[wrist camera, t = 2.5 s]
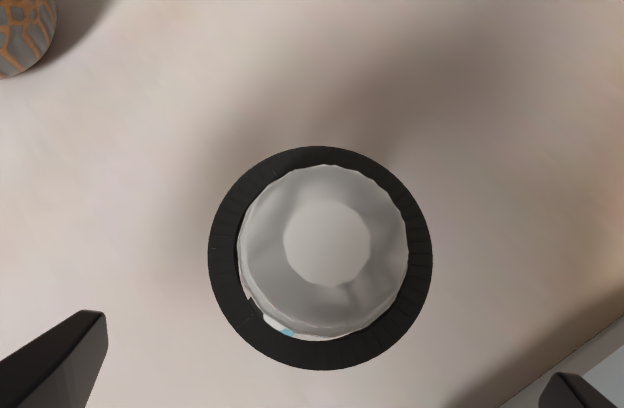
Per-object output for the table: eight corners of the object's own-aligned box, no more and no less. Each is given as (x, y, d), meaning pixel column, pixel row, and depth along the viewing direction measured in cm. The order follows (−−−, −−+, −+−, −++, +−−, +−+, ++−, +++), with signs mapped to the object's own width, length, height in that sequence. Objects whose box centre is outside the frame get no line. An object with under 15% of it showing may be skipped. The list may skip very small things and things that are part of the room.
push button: (306, 181, 20) (335, 49, 11) (401, 251, 20) (519, 176, 10) (212, 299, 19) (146, 266, 9) (313, 379, 18) (358, 433, 8)
